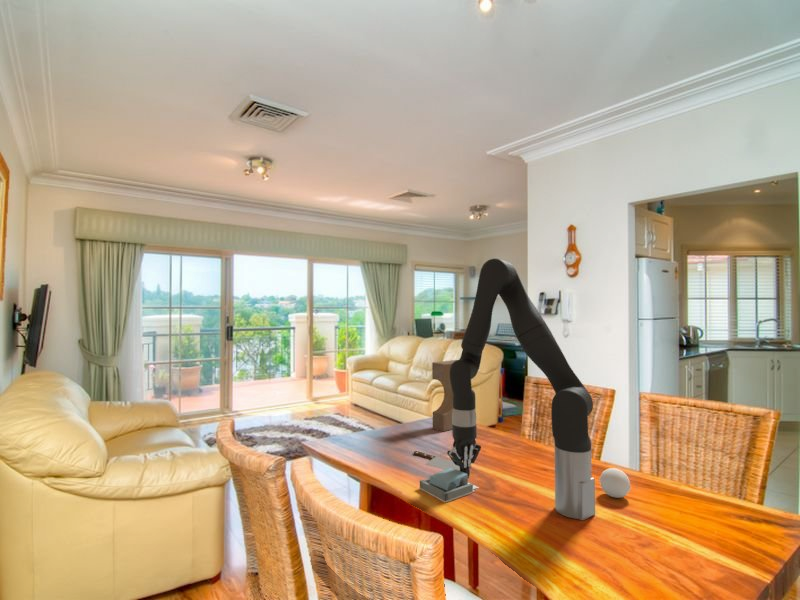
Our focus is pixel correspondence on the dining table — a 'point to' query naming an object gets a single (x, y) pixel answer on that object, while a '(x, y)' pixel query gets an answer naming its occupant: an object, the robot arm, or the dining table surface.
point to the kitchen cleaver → (438, 461)
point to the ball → (615, 483)
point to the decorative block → (444, 412)
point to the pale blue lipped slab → (449, 479)
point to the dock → (447, 495)
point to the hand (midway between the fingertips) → (464, 478)
